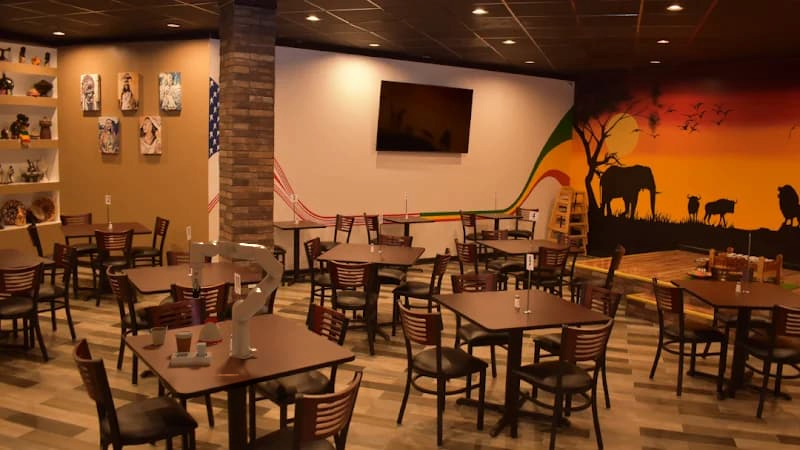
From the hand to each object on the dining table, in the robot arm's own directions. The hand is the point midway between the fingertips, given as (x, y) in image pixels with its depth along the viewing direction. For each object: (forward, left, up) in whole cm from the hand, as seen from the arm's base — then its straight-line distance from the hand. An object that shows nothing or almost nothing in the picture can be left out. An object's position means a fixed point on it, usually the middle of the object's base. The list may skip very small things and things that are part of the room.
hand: (196, 296), depth 369 cm
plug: (-4, +10, -34) cm, 35 cm away
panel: (+1, +10, -35) cm, 36 cm away
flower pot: (+23, -30, -35) cm, 51 cm away
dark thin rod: (0, +17, -35) cm, 39 cm away
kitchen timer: (-6, -34, -35) cm, 49 cm away
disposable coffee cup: (+7, -9, -35) cm, 37 cm away
